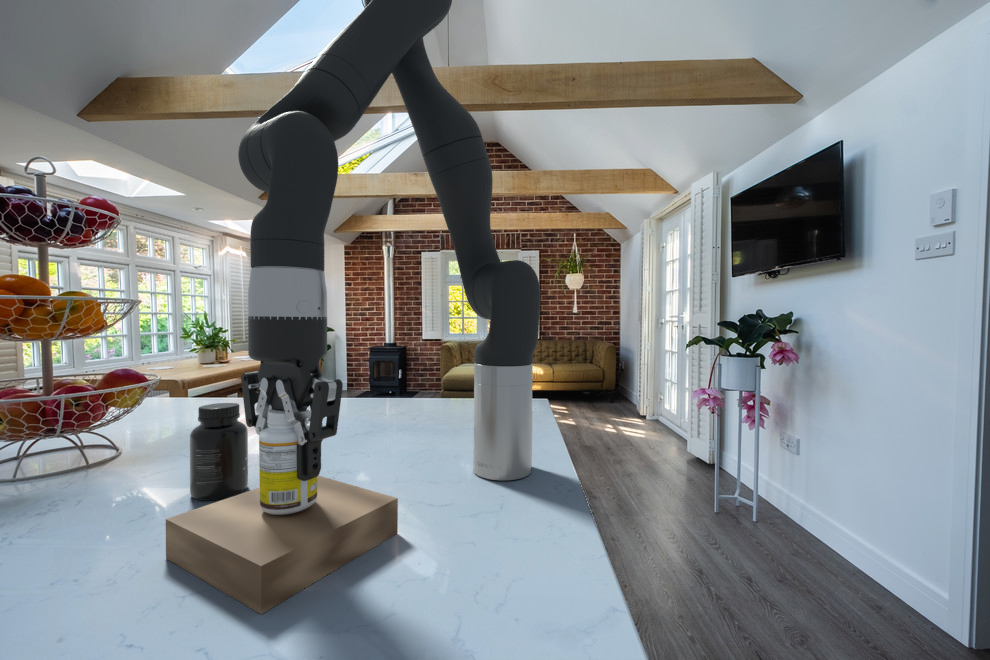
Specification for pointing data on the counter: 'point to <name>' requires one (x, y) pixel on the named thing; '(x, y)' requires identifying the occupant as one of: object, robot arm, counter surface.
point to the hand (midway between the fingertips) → (289, 472)
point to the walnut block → (278, 541)
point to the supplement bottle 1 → (218, 453)
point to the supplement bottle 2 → (282, 468)
